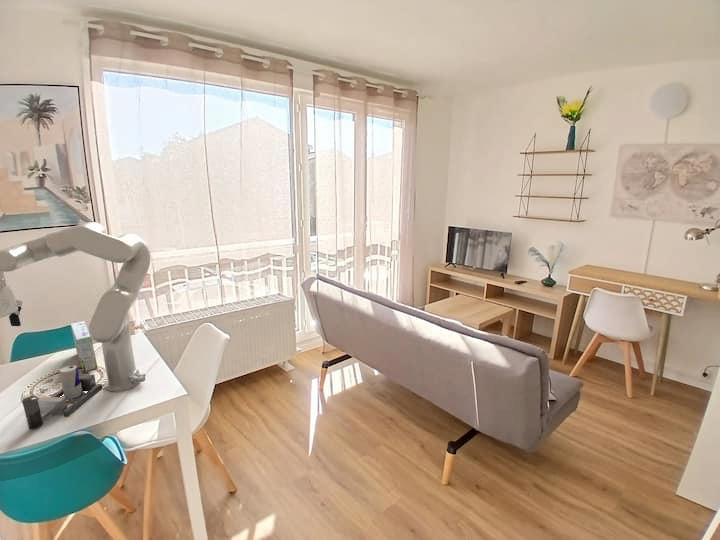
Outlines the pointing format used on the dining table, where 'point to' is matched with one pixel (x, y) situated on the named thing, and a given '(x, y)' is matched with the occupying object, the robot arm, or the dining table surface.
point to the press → (87, 385)
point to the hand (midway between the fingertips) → (3, 331)
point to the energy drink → (71, 382)
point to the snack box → (84, 346)
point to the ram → (42, 409)
